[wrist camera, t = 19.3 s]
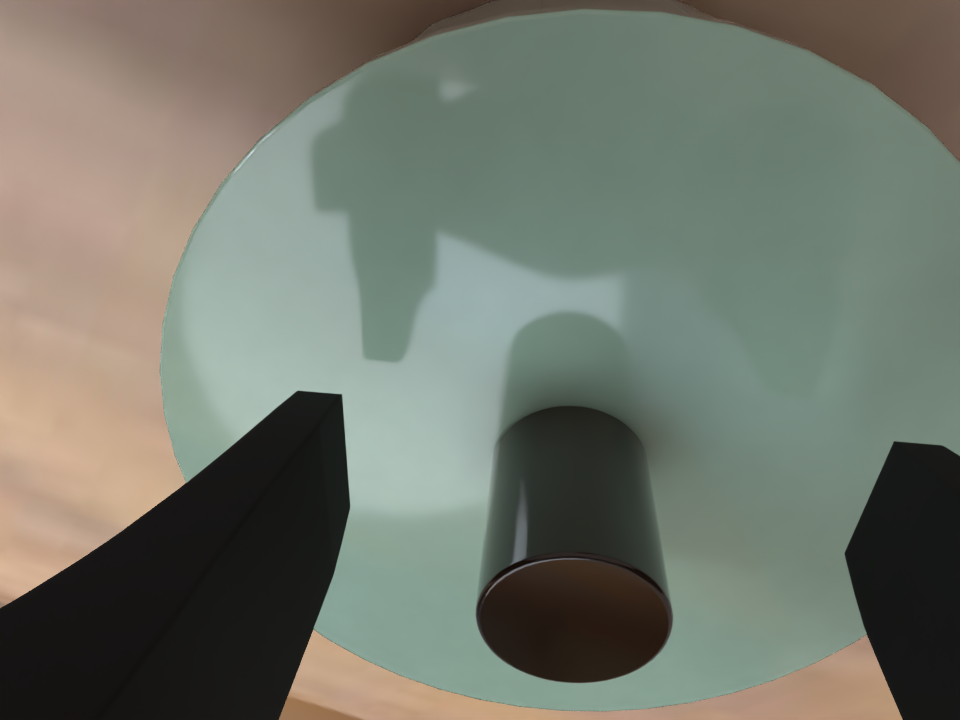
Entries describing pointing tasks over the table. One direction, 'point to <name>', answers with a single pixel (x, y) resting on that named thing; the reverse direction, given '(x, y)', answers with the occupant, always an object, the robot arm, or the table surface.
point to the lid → (585, 345)
